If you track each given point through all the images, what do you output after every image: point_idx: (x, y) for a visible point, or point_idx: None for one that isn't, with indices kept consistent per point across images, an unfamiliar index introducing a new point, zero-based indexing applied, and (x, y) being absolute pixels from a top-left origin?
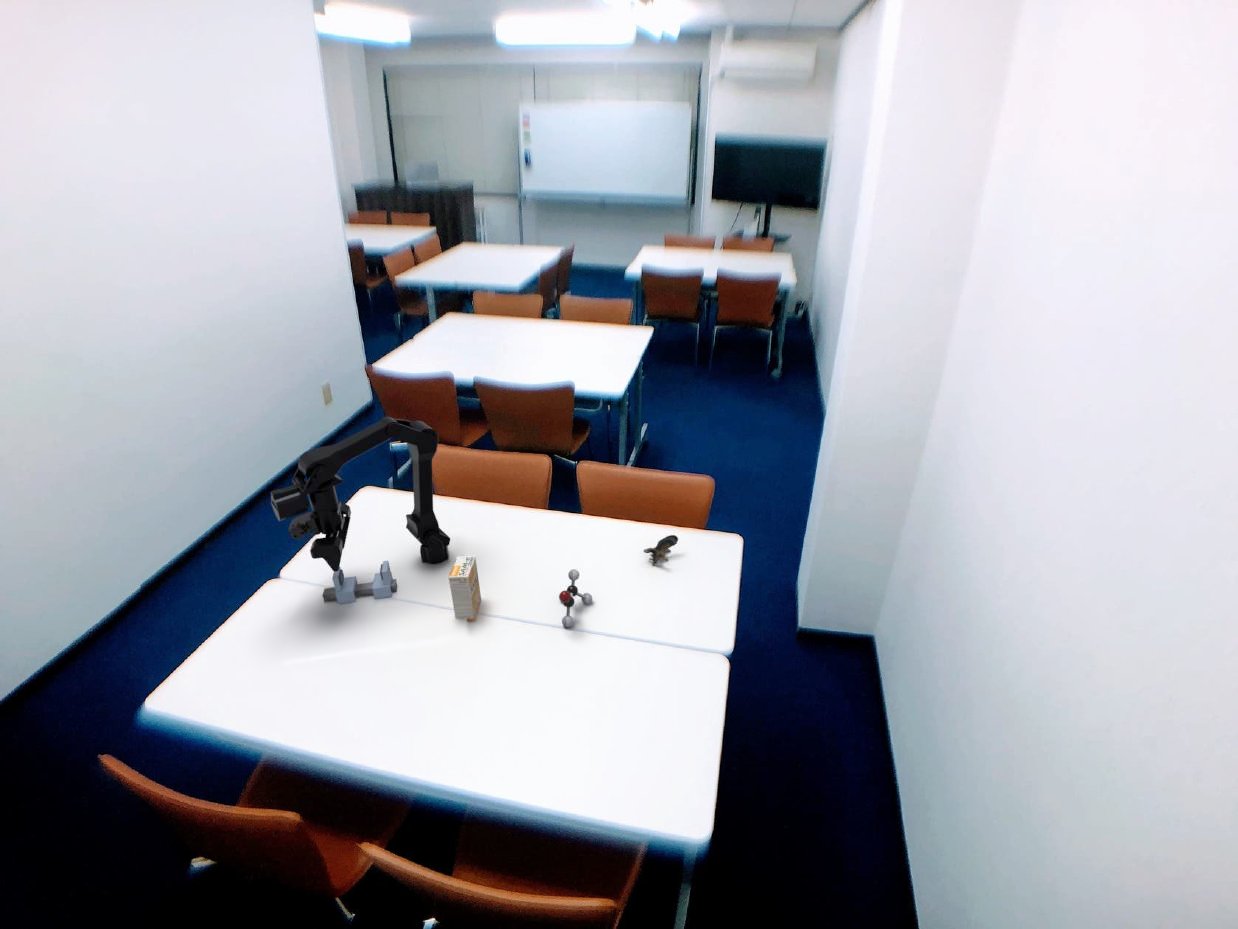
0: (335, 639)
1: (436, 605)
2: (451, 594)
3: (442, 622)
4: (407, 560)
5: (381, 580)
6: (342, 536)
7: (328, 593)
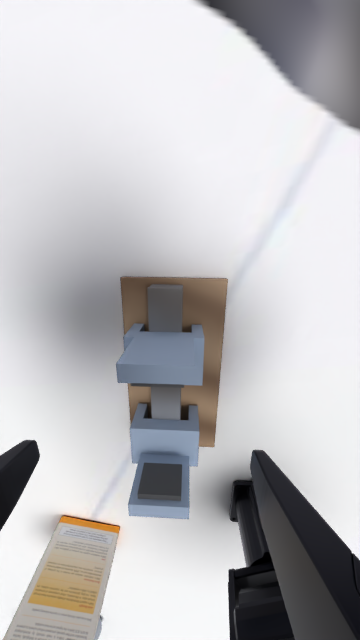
0: (19, 325)
1: (110, 492)
2: (17, 611)
3: (62, 498)
4: (283, 451)
5: (162, 447)
6: (296, 601)
7: (153, 305)
